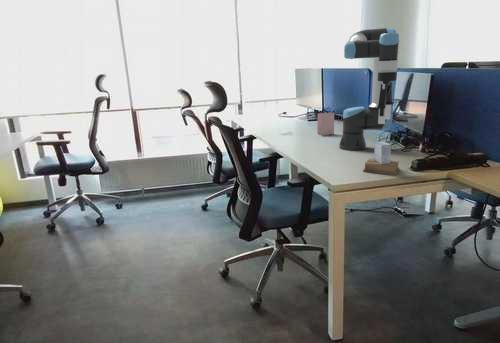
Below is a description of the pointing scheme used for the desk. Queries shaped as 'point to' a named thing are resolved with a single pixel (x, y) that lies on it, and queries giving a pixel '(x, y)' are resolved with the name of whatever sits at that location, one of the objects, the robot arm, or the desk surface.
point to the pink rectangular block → (325, 123)
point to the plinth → (381, 167)
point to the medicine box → (382, 152)
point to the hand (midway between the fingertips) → (384, 121)
